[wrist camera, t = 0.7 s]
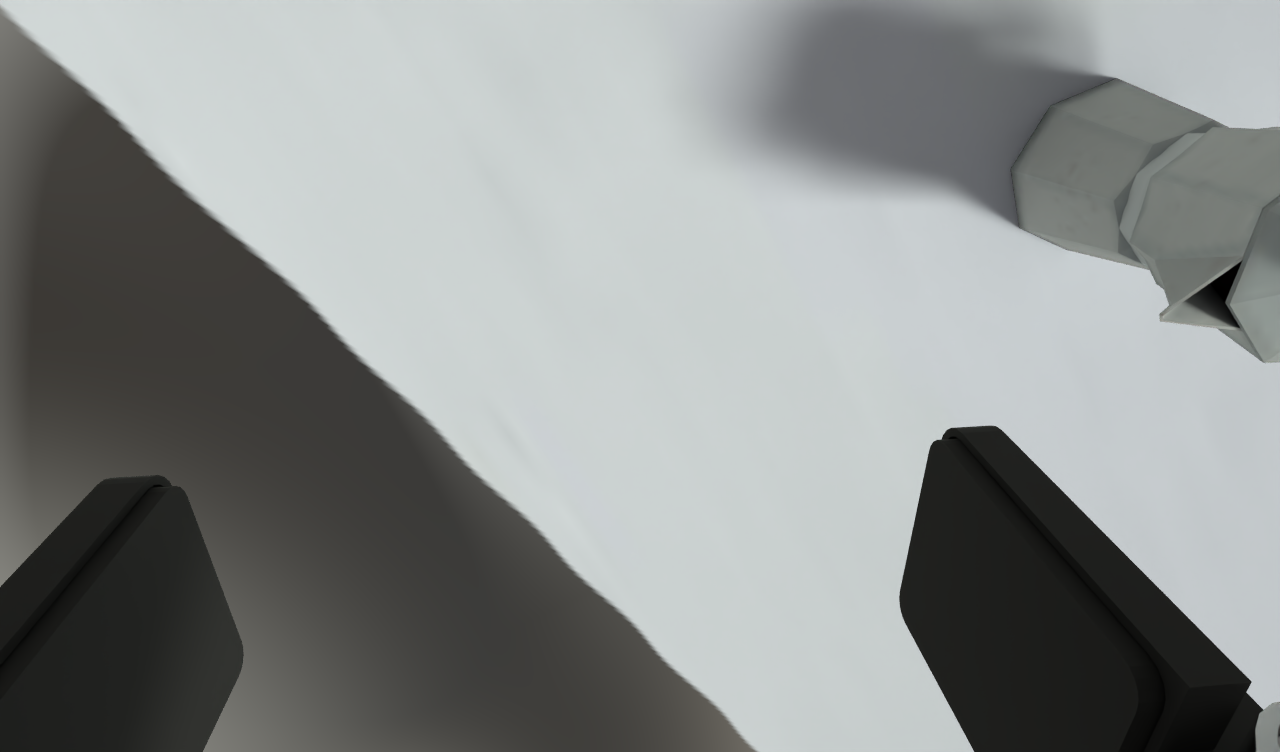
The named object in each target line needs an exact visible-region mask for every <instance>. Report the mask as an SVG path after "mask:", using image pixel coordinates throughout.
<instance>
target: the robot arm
mask: <svg viewBox="0 0 1280 752" xmlns="http://www.w3.org/2000/svg"><path fill="white" fill-rule="evenodd" d="M899 599H900V608H901V613H902V616H903V619H904V621H905V623H906V625H907V627H908V629H909V631H910V633H911V635H912V636H913V638H914V640H915V642H916V644H917V646H918V648H919V650H920V651H921V653H922V655H923V657H924V659H925V661H926V663H927V664H928V666H929V668H930V670H931V672H932V674H933V676H934V677H935V679H936V681H937V683H938V685H939V687H940V689H941V690H942V692H943V694H944V696H945V698H946V700H947V702H948V704H949V705H950V707H951V709H952V711H953V713H954V715H955V717H956V718H957V720H958V722H959V724H960V726H961V728H962V730H963V731H964V733H965V735H966V737H967V739H968V741H969V743H970V744H971V746H972V748H973V750H974V752H1280V702H1276V703H1272V704H1271V705H1269V706H1268V707H1267V708H1266V709H1264V710H1263V709H1262V708H1261V707H1260V706H1259V705H1258V704H1257V703H1256V702H1255V701H1254V700H1253V699H1252V698H1251V697H1250V696H1249V695H1248V694H1247V693H1246V691H1247V690H1248V688H1249V686H1250V684H1251V681H1250V680H1249V679H1248V678H1247V677H1246V676H1245V675H1244V674H1243V673H1242V672H1241V671H1240V670H1239V669H1238V668H1237V667H1236V666H1235V665H1234V664H1233V663H1232V662H1231V661H1230V660H1229V659H1228V658H1227V657H1226V656H1225V655H1224V654H1223V653H1222V652H1221V651H1220V650H1219V649H1218V648H1217V647H1216V645H1215V644H1214V643H1213V642H1212V641H1211V640H1210V639H1209V638H1208V637H1207V636H1206V635H1205V634H1204V633H1203V632H1202V631H1201V630H1200V629H1199V628H1198V627H1197V626H1196V625H1195V624H1194V623H1193V622H1192V621H1191V620H1190V619H1189V618H1188V617H1187V616H1186V615H1185V614H1184V613H1183V612H1182V611H1181V610H1180V609H1179V608H1178V607H1177V606H1176V605H1175V604H1174V603H1173V602H1172V601H1171V600H1170V599H1169V598H1168V597H1167V596H1166V595H1165V594H1164V593H1163V592H1162V591H1161V590H1160V589H1159V588H1158V587H1157V586H1156V585H1155V584H1154V583H1153V582H1152V581H1151V580H1150V579H1149V578H1148V577H1147V576H1146V575H1145V574H1144V573H1143V572H1142V571H1141V570H1140V569H1139V568H1138V567H1137V566H1136V565H1135V564H1134V563H1133V562H1132V561H1131V560H1130V559H1129V558H1128V557H1127V556H1126V555H1125V554H1124V553H1123V552H1122V551H1121V550H1120V549H1119V548H1118V547H1117V546H1116V545H1115V544H1114V543H1113V542H1112V541H1111V540H1110V539H1109V538H1108V537H1107V536H1106V535H1105V534H1104V533H1103V532H1102V531H1101V530H1100V529H1099V528H1098V527H1097V526H1096V525H1095V524H1094V523H1093V522H1092V521H1091V520H1090V519H1089V518H1088V517H1087V516H1086V515H1085V514H1084V513H1083V512H1082V511H1081V510H1080V509H1079V508H1078V507H1077V505H1076V504H1075V503H1074V502H1073V501H1072V500H1071V499H1070V498H1069V497H1068V496H1067V495H1066V494H1065V493H1064V492H1063V491H1062V490H1061V489H1060V488H1059V487H1058V486H1057V485H1056V484H1055V483H1054V482H1053V481H1052V480H1051V479H1050V478H1049V477H1048V476H1047V475H1046V474H1045V473H1044V472H1043V471H1042V470H1041V469H1040V468H1039V467H1038V466H1037V465H1036V464H1035V463H1034V462H1033V461H1032V460H1031V459H1030V458H1029V457H1028V456H1027V455H1026V454H1025V453H1024V452H1023V451H1022V450H1021V449H1020V448H1019V447H1018V446H1017V445H1016V444H1015V443H1014V442H1013V441H1012V440H1011V439H1010V438H1009V437H1008V436H1007V435H1006V434H1005V433H1004V432H1003V431H1002V430H1001V429H999V428H998V427H996V426H977V427H960V428H950V429H948V430H947V431H946V432H945V433H944V435H943V437H942V440H936V441H934V442H933V443H932V445H931V447H930V450H929V454H928V459H927V464H926V469H925V474H924V478H923V483H922V488H921V493H920V498H919V503H918V507H917V512H916V517H915V522H914V527H913V531H912V536H911V541H910V546H909V551H908V555H907V560H906V565H905V570H904V575H903V579H902V584H901V589H900V596H899ZM242 663H243V645H242V641H241V639H240V636H239V633H238V631H237V628H236V625H235V623H234V620H233V617H232V615H231V612H230V609H229V606H228V604H227V601H226V599H225V596H224V593H223V590H222V588H221V586H220V582H219V580H218V577H217V575H216V572H215V569H214V567H213V564H212V561H211V558H210V556H209V553H208V550H207V548H206V545H205V543H204V540H203V537H202V535H201V532H200V529H199V527H198V524H197V521H196V518H195V516H194V513H193V510H192V508H191V505H190V502H189V500H188V497H187V495H186V493H185V491H184V490H183V489H182V488H181V487H177V486H172V485H171V483H170V482H169V481H168V480H167V479H166V478H165V477H162V476H159V475H155V476H138V477H137V476H136V477H119V478H109V479H105V480H103V481H102V482H100V483H99V484H98V485H97V486H96V487H95V488H94V489H93V490H92V491H91V492H90V493H89V494H88V495H87V496H86V497H85V498H84V499H83V501H82V502H81V503H80V504H79V505H78V506H77V507H76V508H75V509H74V510H73V511H72V512H71V513H70V514H69V515H68V516H67V517H66V518H65V520H63V522H62V523H61V524H60V525H59V526H58V527H57V528H56V529H55V530H54V531H53V532H52V533H51V534H50V535H49V536H48V537H47V538H46V539H45V540H44V542H43V543H42V544H41V545H40V546H39V547H38V548H37V549H36V550H35V551H34V552H33V553H32V554H31V555H30V556H29V557H28V558H27V559H26V561H25V562H24V563H23V564H22V565H21V566H20V567H19V568H18V569H17V570H16V571H15V572H14V573H13V574H12V575H11V576H10V577H9V578H8V579H7V580H6V582H5V583H4V584H3V585H2V586H1V587H0V752H203V750H204V748H205V745H206V744H207V742H208V739H209V737H210V735H211V733H212V731H213V729H214V727H215V725H216V723H217V721H218V719H219V716H220V714H221V712H222V710H223V708H224V706H225V704H226V702H227V700H228V698H229V695H230V693H231V691H232V689H233V687H234V685H235V683H236V681H237V679H238V677H239V674H240V671H241V668H242Z"/></svg>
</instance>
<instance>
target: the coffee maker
mask: <svg viewBox="0 0 1280 752" xmlns="http://www.w3.org/2000/svg"><path fill="white" fill-rule="evenodd" d="M1011 175H1012V181H1013V188H1014V195H1015V202H1016V209H1017V215H1018V222H1019V228H1021V229H1023V230H1025V231H1027V232H1029V233H1031V234H1034V235H1036V236H1038V237H1040V238H1042V239H1044V240H1047V241H1049V242H1051V243H1053V244H1055V245H1057V246H1060V247H1062V248H1064V249H1066V250H1069V251H1073V252H1078V253H1082V254H1086V255H1090V256H1094V257H1098V258H1102V259H1106V260H1111V261H1115V262H1119V263H1123V264H1127V265H1131V266H1135V267H1139V268H1144V269H1148V270H1150V272H1151V274H1152V276H1153V278H1154V280H1155V282H1156V284H1157V285H1159V286H1160V287H1161V288H1163V289H1164V291H1165V294H1166V297H1167V300H1168V303H1169V306H1168V307H1167V308H1166V309H1165V310H1164V311H1163V312H1161V313H1160V314H1159V315H1160V321H1161V322H1169V323H1178V324H1186V325H1194V326H1203V327H1211V328H1217V329H1218V330H1220V331H1221V332H1222V333H1224V334H1225V335H1227V336H1228V337H1229V338H1231V339H1232V340H1233V341H1235V342H1236V343H1237V344H1239V345H1240V346H1241V347H1243V348H1244V349H1246V350H1247V351H1248V352H1250V353H1251V354H1252V355H1254V356H1255V357H1256V358H1258V359H1259V360H1260V361H1262V362H1264V363H1273V362H1280V127H1271V128H1263V129H1245V128H1229V127H1227V126H1225V125H1223V124H1221V123H1219V122H1217V121H1215V120H1213V119H1211V118H1208V117H1206V116H1204V115H1201V114H1199V113H1197V112H1194V111H1192V110H1190V109H1187V108H1185V107H1183V106H1180V105H1178V104H1176V103H1173V102H1171V101H1169V100H1166V99H1164V98H1162V97H1159V96H1157V95H1155V94H1152V93H1150V92H1148V91H1145V90H1143V89H1141V88H1138V87H1136V86H1134V85H1131V84H1129V83H1127V82H1124V81H1122V80H1120V79H1114V80H1112V81H1109V82H1107V83H1105V84H1102V85H1100V86H1097V87H1095V88H1093V89H1090V90H1088V91H1085V92H1083V93H1080V94H1078V95H1076V96H1073V97H1071V98H1068V99H1066V100H1064V101H1061V102H1059V103H1056V104H1054V105H1052V106H1050V108H1049V109H1048V111H1047V112H1046V114H1045V116H1044V117H1043V119H1042V120H1041V122H1040V124H1039V125H1038V127H1037V128H1036V130H1035V132H1034V133H1033V135H1032V136H1031V138H1030V139H1029V141H1028V143H1027V144H1026V146H1025V147H1024V149H1023V151H1022V152H1021V154H1020V155H1019V157H1018V159H1017V160H1016V162H1015V163H1014V165H1013V167H1012V168H1011Z"/></svg>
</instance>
